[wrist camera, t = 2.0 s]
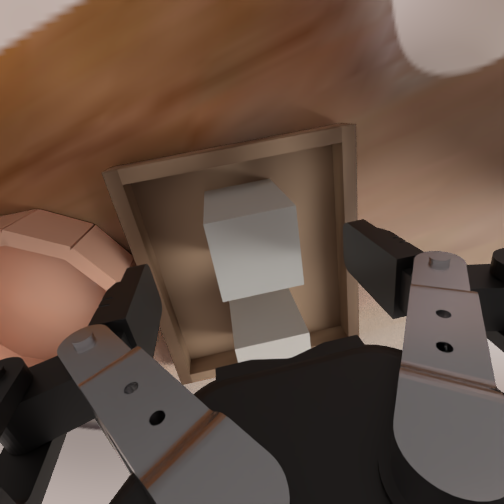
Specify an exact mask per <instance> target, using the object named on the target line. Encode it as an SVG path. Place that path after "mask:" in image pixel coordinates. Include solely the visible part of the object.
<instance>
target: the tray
mask: <svg viewBox="0 0 504 504" xmlns="http://www.w3.org/2000/svg"><path fill="white" fill-rule="evenodd" d="M102 176H103V178H104V181H105V183H106V186H107V189H108V191H109V194H110V197H111V199H112V202H113V205H114V207H115V210H116V212H117V215H118V218H119V220H120V223H121V226H122V228H123V231H124V234H125V236H126V239H127V241H128V244H129V247H130V249H131V252H132V255H133V257H134V260H135V263H136V265H137V266H138V265H143V264H148V265H149V267H150V269H151V272H152V275H153V278H154V281H155V284H156V286H157V289H158V292H159V295H160V298H161V303H162V315H161V320H160V325H159V326H160V328H161V331H162V334H163V336H164V339H165V342H166V344H167V347H168V350H169V352H170V355H171V357H172V360H173V363H174V365H175V368H176V371H177V373H178V376H179V378H180V381H181V384H182V385H184V384H188V383H193V382H197V381H201V380H206V379H210V378H214V377H216V372H215V368H218V367H222V366H226V365H231V364H235V363H238V360H237V356H236V352H235V347H234V339H233V330H232V322H231V313H230V304H229V301H227V302H223V301H222V297H221V293H220V289H219V285H218V281H217V277H216V273H215V269H214V265H213V261H212V257H211V253H210V249H209V245H208V241H207V238H206V234H205V230H204V226H203V216H204V191H209V190H214V189H219V188H224V187H229V186H234V185H239V184H244V183H249V182H254V181H260V180H265V179H270V180H271V181H272V182H273V183H274V184H275V185H276V186H277V187H278V188H279V189H280V190H281V191H282V192H283V193H284V194H285V195H286V196H287V197H288V198H289V199H290V200H291V201H292V202H293V203H294V204H295V205H296V211H297V221H298V230H299V240H300V249H301V259H302V268H303V277H304V285H300V286H295V287H291V288H289V290H290V292H291V294H292V297H293V299H294V301H295V303H296V305H297V307H298V309H299V312H300V314H301V316H302V318H303V320H304V322H305V324H306V326H307V329H308V331H309V334H310V343H311V348H313V347H315V346H317V345H319V344H321V343H323V342H328V341H332V340H336V339H340V338H344V337H349V336H353V335H358V336H359V298H358V281H357V280H356V279H355V278H354V277H353V276H352V275H351V274H350V273H349V272H348V270H347V269H346V266H345V263H344V257H343V226H344V224H345V223H347V222H352V221H357V157H356V124H349V123H339V124H334V125H329V126H324V127H319V128H313V129H308V130H303V131H298V132H292V133H287V134H282V135H277V136H271V137H266V138H261V139H256V140H250V141H245V142H240V143H235V144H229V145H224V146H219V147H214V148H209V149H203V150H198V151H193V152H188V153H182V154H177V155H172V156H167V157H161V158H156V159H151V160H146V161H140V162H135V163H130V164H125V165H119V166H114V167H111V168H109V169H107V170H105V171H104V172H102Z"/></svg>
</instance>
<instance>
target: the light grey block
mask: <svg viewBox="0 0 504 504" xmlns="http://www.w3.org/2000/svg"><path fill="white" fill-rule="evenodd" d="M203 226H204V230H205V234H206V238H207V241H208V245H209V249H210V253H211V257H212V261H213V265H214V269H215V273H216V277H217V281H218V285H219V289H220V293H221V297H222V301H223V302H227V301H231V300H236V299H240V298H245V297H250V296H254V295H259V294H263V293H268V292H272V291H277V290H282V289H286V288H291V287H295V286H300V285H304V277H303V268H302V259H301V249H300V240H299V230H298V221H297V211H296V205H295V204H294V203H293V202H292V201H291V200H290V199H289V198H288V197H287V196H286V195H285V194H284V193H283V192H282V191H281V190H280V189H279V188H278V187H277V186H276V185H275V184H274V183H273V182H272V181H271V180H270V179H265V180H260V181H254V182H249V183H244V184H239V185H234V186H229V187H224V188H219V189H214V190H209V191H204V216H203Z"/></svg>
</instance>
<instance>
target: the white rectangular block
mask: <svg viewBox="0 0 504 504" xmlns="http://www.w3.org/2000/svg"><path fill="white" fill-rule="evenodd" d="M229 304H230V313H231V322H232V330H233V339H234V347H235V352H236V356H237V360H238V363H239V362H243V361H247V360H255V359H284V358H291V357H294V356H296V355H298V354H300V353H302V352H304V351H307V350H309V349H311V343H310V334H309V331H308V329H307V326H306V324H305V322H304V320H303V318H302V316H301V314H300V312H299V309H298V307H297V305H296V303H295V301H294V299H293V297H292V294H291V292H290V290H289V288H286V289H282V290H277V291H272V292H268V293H263V294H259V295H254V296H250V297H245V298H240V299H236V300H231V301H229Z"/></svg>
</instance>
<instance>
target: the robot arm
mask: <svg viewBox="0 0 504 504" xmlns="http://www.w3.org/2000/svg"><path fill="white" fill-rule="evenodd" d="M343 257H344V263H345V266H346V269H347V270H348V272H349V273H350V274H351V275H352V276H353V277H354V278H355V279H356V280H357V281H358V282H359V284H360V285H361V286H362V287H363V288H364V289H365V290H366V291H367V292H368V293H369V294H370V295H371V296H372V297H373V298H374V299H375V301H376V302H377V303H378V304H379V305H380V306H381V307H382V308H383V309H384V310H385V311H386V312H387V313H388V314H389V315H390V316H391V317H392V319H395V318H399V317H404V316H407V318H406V326H405V334H404V343H403V351H402V350H399V349H396V348H391V347H387V346H380V345H364V343H363V342H362V341H361V339H360V338H359V336H358V335H353V336H349V337H344V338H340V339H336V340H332V341H328V342H323V343H321V344H319V345H317V346H315V347H313V348H311V349H309V350H307V351H304V352H302V353H300V354H298V355H296V356H294V357H291V358H284V359H255V360H247V361H243V362H239V363H235V364H231V365H226V366H222V367H218V368H215V372H216V380H215V381H213V382H211V383H209V384H207V385H206V386H204V387H203V388H201V389H200V390H198V391H197V392H196V393H195V394H192V393H191V392H190V391H189V390H188V389H187V388H186V387H184V386H183V385H182V384H181V383H180V382H179V381H178V380H177V379H175V378H174V377H173V376H172V375H171V374H170V373H169V372H168V371H166V370H165V369H164V368H163V367H162V366H161V365H160V364H159V363H158V362H156V361H155V360H154V359H153V356H154V351H155V346H156V341H157V336H158V330H159V325H160V320H161V315H162V303H161V298H160V295H159V292H158V289H157V286H156V284H155V281H154V278H153V275H152V272H151V269H150V267H149V265H148V264H143V265H138V266H133V267H128V268H127V269H126V271H125V273H124V275H123V277H122V279H121V281H120V282H116V283H115V284H114V285H112V286H111V287H110V288H109V289H108V290H107V291H106V293H105V294H104V296H103V298H102V301H101V302H100V304H99V306H98V307H99V308H97V310H96V311H95V313H94V315H93V317H92V319H91V321H90V323H89V325H88V326H87V327H84V328H82V329H79V330H77V331H76V332H74V333H72V334H71V335H69V336H68V337H67V338H66V339H64V340H63V341H62V343H61V344H60V345H59V347H58V349H57V356H55V357H53V358H51V359H48V360H46V361H43V362H41V363H39V364H36V365H34V366H31V367H29V368H28V366H27V365H26V363H25V362H24V360H23V359H22V358H20V357H9V358H5V359H2V360H0V443H1V444H2V445H3V446H4V448H3V450H2V452H1V454H0V504H42V501H43V498H44V495H45V493H46V490H47V487H48V484H49V482H50V479H51V476H52V473H53V470H54V467H55V465H56V462H57V459H58V456H59V453H60V450H61V448H62V445H63V442H64V440H65V437H66V434H67V432H69V431H71V430H73V429H75V428H77V427H79V426H81V425H83V424H85V423H87V422H89V421H90V420H92V419H94V418H95V420H96V421H97V423H98V425H99V426H100V428H101V429H102V431H103V433H104V434H105V436H106V437H107V439H108V440H109V442H110V444H111V445H112V447H113V448H114V450H115V451H116V453H117V454H118V456H119V458H120V459H121V461H122V463H123V464H124V466H125V468H126V469H127V471H128V473H129V474H130V476H129V478H128V479H127V480H126V482H125V483H124V484H123V486H122V487H121V489H120V490H119V491H118V492H117V494H116V495H115V496H114V498H113V499H112V500H111V502H110V503H109V504H504V393H503V392H501V391H500V390H499V389H498V388H497V387H496V383H495V379H494V373H493V368H492V363H491V358H490V352H489V347H488V342H487V338H488V339H489V340H490V341H492V342H493V343H494V344H495V345H496V346H497V347H498V348H499V349H501V350H502V351H503V352H504V248H502V249H498V250H496V251H494V253H493V256H492V261H491V264H478V265H466V262H465V260H464V259H462V258H461V257H459V256H457V255H455V254H452V253H448V252H441V251H429V252H423V251H421V250H420V249H418V248H416V247H415V246H413V245H412V244H410V243H408V242H405V240H403V239H402V238H399V237H398V236H397V235H395V234H394V233H392V232H390V231H387V230H384V229H380V228H376V227H375V226H373V225H372V224H370V223H369V222H367V221H366V220H364V219H362V220H357V221H352V222H347V223H345V224H344V226H343Z"/></svg>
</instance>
